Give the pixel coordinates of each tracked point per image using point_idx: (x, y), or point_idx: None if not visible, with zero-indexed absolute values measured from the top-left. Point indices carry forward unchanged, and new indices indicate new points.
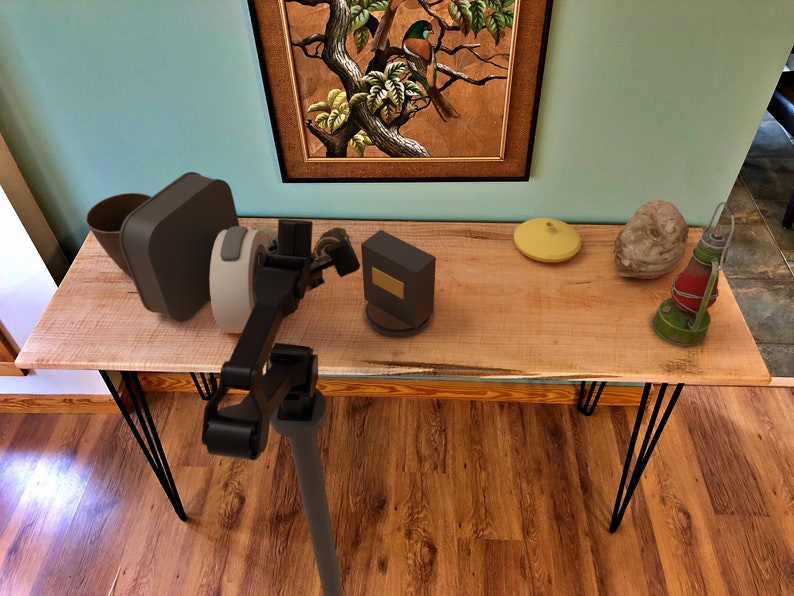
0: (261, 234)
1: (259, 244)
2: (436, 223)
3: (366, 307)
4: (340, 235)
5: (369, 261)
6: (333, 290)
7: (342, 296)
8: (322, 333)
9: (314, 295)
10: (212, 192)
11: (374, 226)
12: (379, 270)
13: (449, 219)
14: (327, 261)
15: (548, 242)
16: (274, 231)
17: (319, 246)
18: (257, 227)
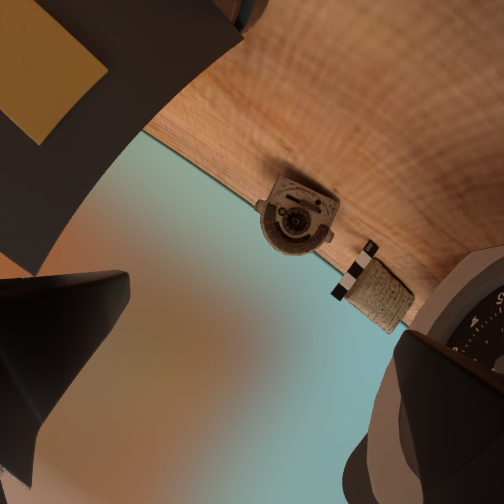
0: (376, 432)
1: (402, 430)
2: (154, 135)
3: (250, 8)
4: (261, 227)
5: (40, 178)
6: (344, 134)
7: (328, 99)
8: (482, 13)
9: (402, 161)
10: (368, 496)
11: (231, 184)
12: (13, 121)
13: (142, 131)
14: (320, 201)
15: None
16: (368, 309)
17: (309, 245)
18: (384, 328)
